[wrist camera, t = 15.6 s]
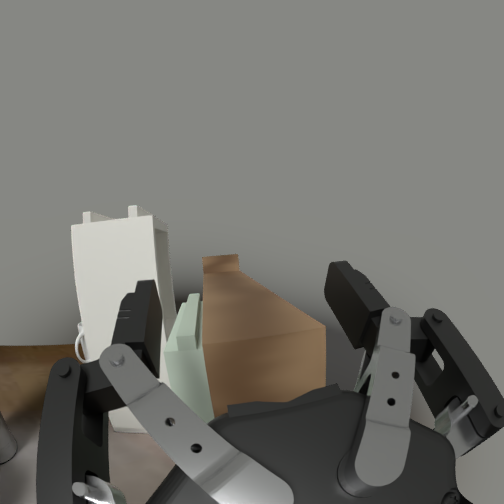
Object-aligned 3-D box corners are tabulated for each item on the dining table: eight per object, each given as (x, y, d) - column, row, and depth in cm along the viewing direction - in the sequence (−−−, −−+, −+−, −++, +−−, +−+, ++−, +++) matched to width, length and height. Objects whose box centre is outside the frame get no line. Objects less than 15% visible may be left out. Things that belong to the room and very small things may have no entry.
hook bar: (217, 431, 8) (195, 286, 8) (206, 301, 32) (202, 257, 31) (324, 410, 9) (323, 272, 8) (240, 298, 32) (236, 254, 32)
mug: (93, 382, 47) (79, 332, 47) (72, 374, 50) (60, 328, 49) (124, 365, 58) (115, 320, 58) (103, 359, 61) (94, 317, 60)
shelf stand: (114, 431, 31) (70, 214, 30) (132, 392, 45) (104, 222, 44) (186, 432, 33) (151, 203, 32) (189, 390, 47) (166, 215, 46)
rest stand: (213, 519, 17) (160, 337, 16) (206, 437, 32) (181, 294, 32) (307, 503, 18) (312, 319, 18) (273, 428, 34) (263, 286, 33)
